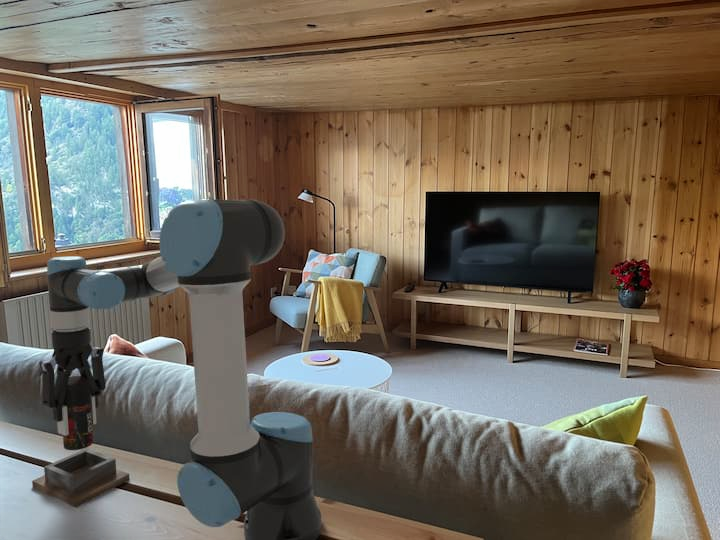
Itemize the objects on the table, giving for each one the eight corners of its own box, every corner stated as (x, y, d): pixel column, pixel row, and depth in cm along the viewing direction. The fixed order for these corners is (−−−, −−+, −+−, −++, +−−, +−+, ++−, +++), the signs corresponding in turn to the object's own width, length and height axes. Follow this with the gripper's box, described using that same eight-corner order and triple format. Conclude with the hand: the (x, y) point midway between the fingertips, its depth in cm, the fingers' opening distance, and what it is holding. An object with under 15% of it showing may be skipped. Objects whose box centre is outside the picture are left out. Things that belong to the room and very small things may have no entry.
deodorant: (66, 440, 125) (62, 377, 123) (95, 436, 127) (91, 374, 125) (61, 451, 119) (56, 386, 117) (91, 448, 121) (86, 383, 119)
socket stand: (129, 479, 126) (128, 459, 125) (76, 507, 115) (74, 485, 114) (86, 462, 134) (85, 443, 133) (32, 487, 123) (30, 466, 122)
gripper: (99, 317, 129) (104, 410, 132) (16, 334, 113) (24, 440, 116) (120, 321, 125) (125, 416, 129) (37, 340, 109) (45, 449, 113)
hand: (77, 427), depth 122 cm, fingers closed on deodorant, 6 cm apart
